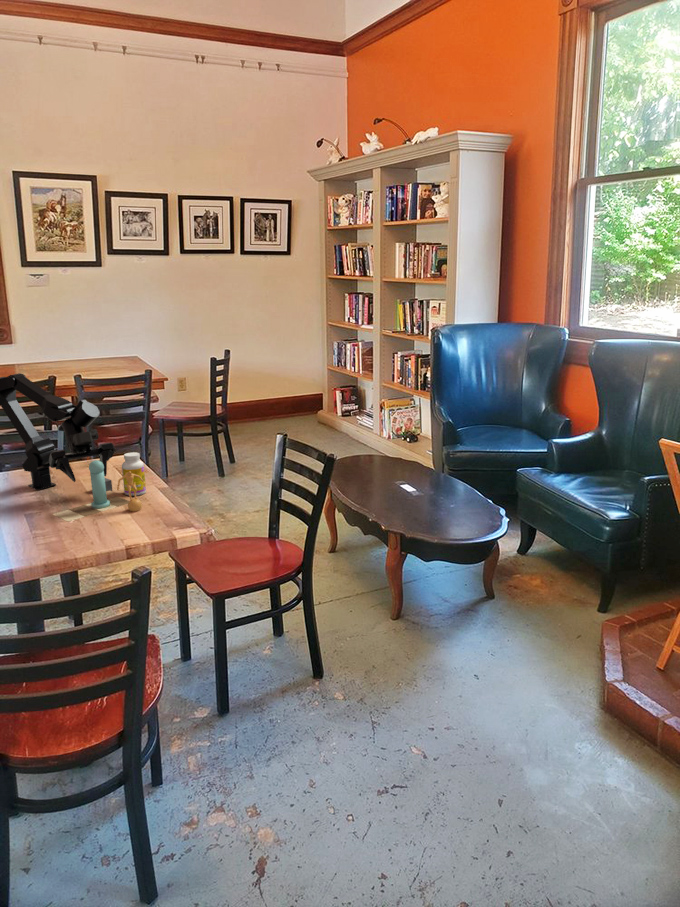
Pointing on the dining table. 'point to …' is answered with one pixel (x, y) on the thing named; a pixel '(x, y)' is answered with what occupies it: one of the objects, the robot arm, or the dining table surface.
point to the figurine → (133, 503)
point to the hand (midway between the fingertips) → (90, 478)
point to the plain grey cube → (108, 484)
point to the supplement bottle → (136, 468)
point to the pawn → (98, 485)
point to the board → (89, 509)
